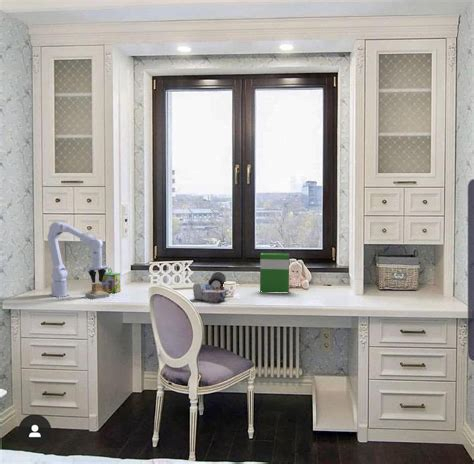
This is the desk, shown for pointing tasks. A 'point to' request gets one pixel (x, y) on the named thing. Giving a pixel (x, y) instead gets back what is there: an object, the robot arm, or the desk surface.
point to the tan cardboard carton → (97, 289)
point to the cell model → (209, 292)
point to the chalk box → (111, 282)
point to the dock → (96, 295)
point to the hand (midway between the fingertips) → (97, 282)
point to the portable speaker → (217, 280)
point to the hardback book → (274, 272)
